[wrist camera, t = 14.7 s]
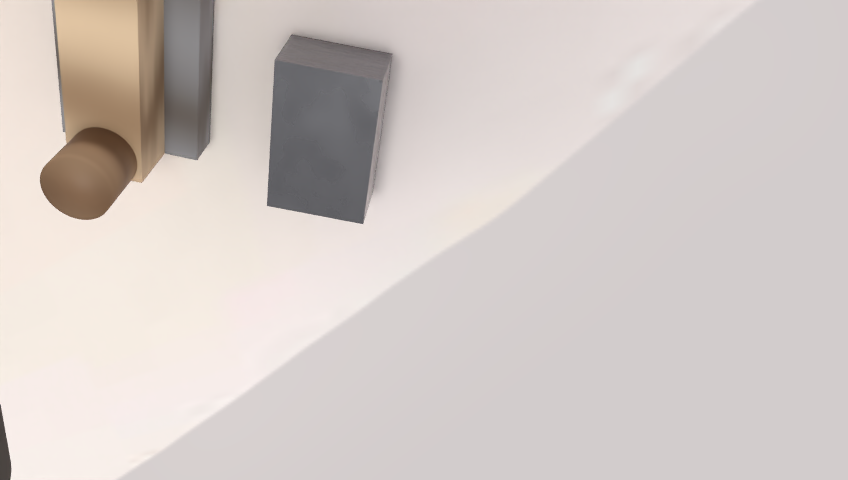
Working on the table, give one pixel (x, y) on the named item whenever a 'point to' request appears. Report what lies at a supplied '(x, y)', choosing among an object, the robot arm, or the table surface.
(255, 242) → the table surface
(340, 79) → the grey rectangular box
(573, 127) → the table surface
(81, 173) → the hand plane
